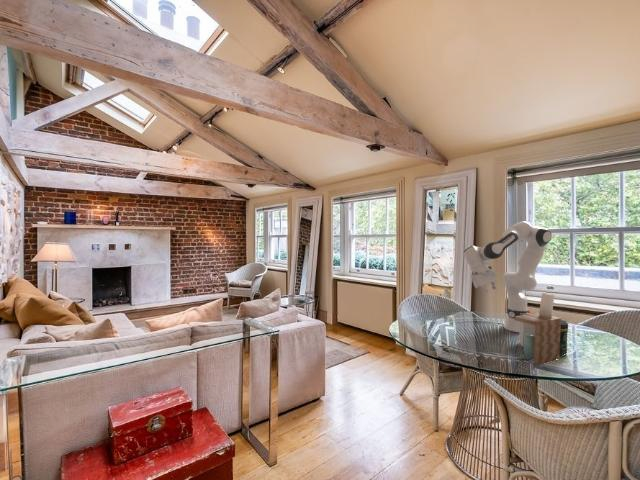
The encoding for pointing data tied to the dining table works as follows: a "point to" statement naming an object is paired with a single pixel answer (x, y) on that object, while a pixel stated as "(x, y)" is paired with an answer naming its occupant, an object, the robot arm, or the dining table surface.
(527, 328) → the milk carton
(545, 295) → the white glossy cylinder
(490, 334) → the dining table surface
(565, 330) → the coffee jar
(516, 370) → the dining table surface
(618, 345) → the dining table surface
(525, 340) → the sage green cylinder
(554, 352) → the walnut counter
